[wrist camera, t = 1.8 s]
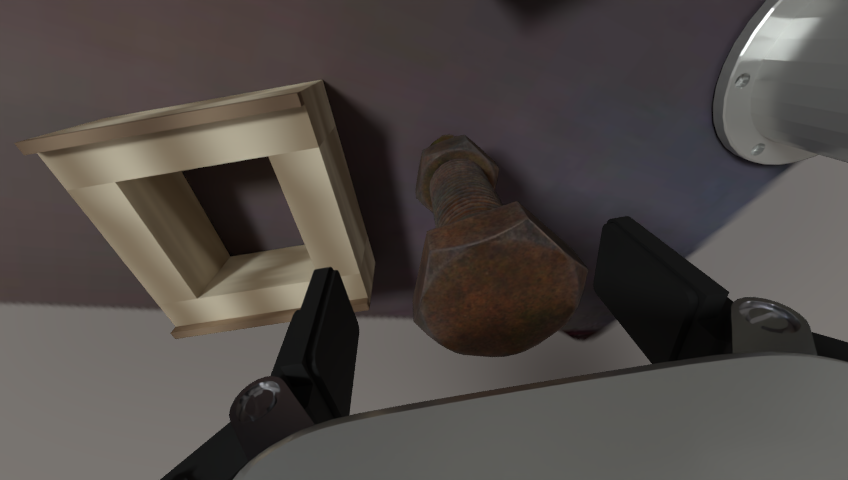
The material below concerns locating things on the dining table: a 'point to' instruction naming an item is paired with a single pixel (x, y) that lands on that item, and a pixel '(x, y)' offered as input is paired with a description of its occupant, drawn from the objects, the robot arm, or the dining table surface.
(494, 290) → the bolt
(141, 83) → the dining table surface
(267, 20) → the dining table surface
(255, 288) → the socket
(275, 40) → the dining table surface
